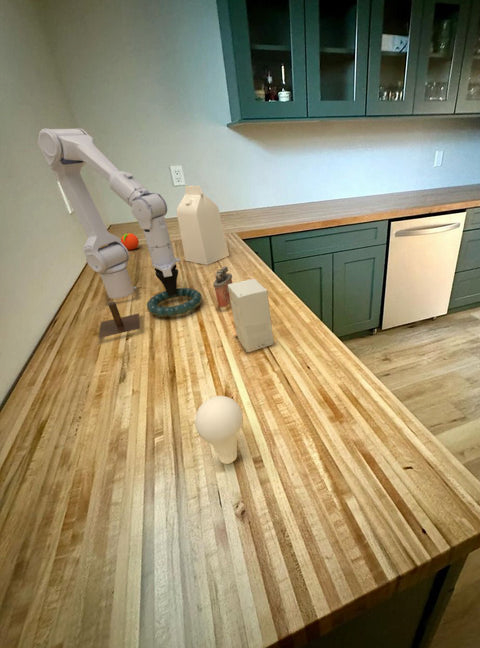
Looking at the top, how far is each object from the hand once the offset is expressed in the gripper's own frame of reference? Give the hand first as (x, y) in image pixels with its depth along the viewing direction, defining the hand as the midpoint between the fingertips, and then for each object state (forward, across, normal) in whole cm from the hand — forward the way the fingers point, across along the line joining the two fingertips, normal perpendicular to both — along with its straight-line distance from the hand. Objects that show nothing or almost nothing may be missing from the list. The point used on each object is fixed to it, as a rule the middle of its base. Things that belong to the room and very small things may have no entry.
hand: (172, 293), depth 93 cm
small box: (+4, -30, -14) cm, 33 cm away
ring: (0, -6, 0) cm, 6 cm away
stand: (+3, -8, +14) cm, 16 cm away
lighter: (+4, -8, -13) cm, 16 cm away
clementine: (+4, +69, +11) cm, 70 cm away
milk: (+4, +37, -16) cm, 41 cm away
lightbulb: (+4, -59, -1) cm, 59 cm away
